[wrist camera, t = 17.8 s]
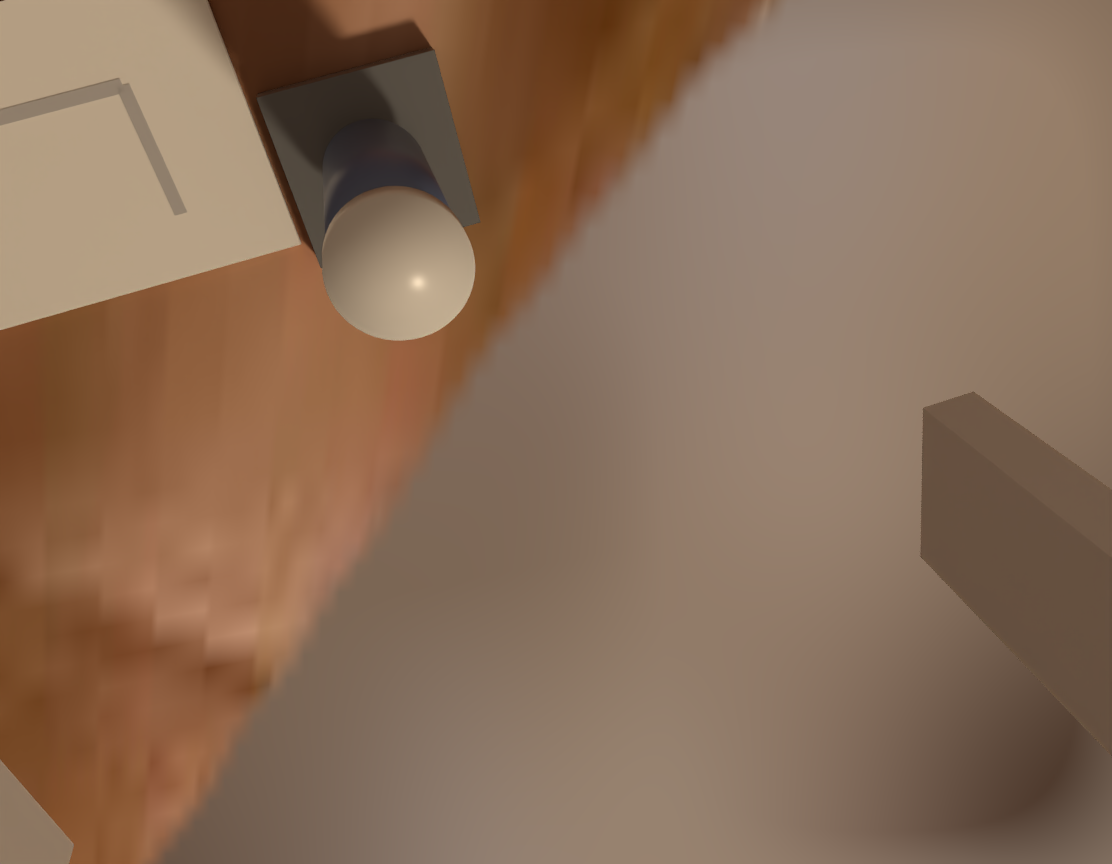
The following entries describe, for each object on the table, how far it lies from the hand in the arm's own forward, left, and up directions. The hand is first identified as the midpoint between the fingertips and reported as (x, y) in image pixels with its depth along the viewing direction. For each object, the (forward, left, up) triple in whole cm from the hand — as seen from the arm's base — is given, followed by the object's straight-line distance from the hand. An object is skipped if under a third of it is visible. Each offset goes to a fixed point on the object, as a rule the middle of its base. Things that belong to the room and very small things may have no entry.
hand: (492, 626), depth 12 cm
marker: (0, 0, -28) cm, 28 cm away
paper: (-12, +3, -29) cm, 31 cm away
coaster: (0, 0, -29) cm, 29 cm away
